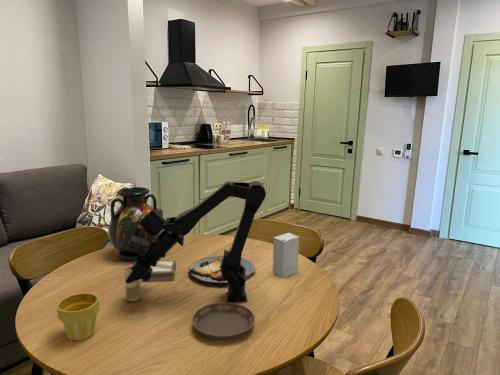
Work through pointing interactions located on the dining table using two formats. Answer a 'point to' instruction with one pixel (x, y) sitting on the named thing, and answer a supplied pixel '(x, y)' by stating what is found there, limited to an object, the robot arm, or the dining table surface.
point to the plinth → (163, 271)
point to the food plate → (215, 269)
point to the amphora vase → (129, 220)
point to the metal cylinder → (132, 287)
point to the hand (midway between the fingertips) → (127, 279)
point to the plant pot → (79, 314)
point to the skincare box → (285, 255)
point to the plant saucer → (223, 321)
